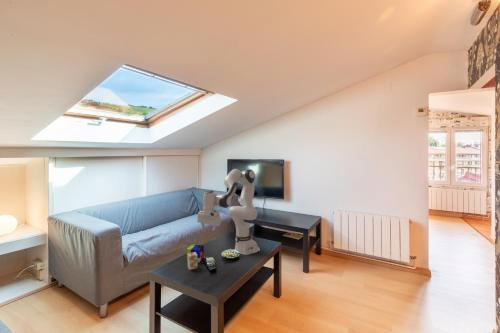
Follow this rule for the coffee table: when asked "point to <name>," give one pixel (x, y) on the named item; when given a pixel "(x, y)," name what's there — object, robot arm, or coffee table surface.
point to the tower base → (192, 265)
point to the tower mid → (192, 257)
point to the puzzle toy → (198, 249)
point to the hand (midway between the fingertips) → (208, 229)
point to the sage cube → (210, 260)
